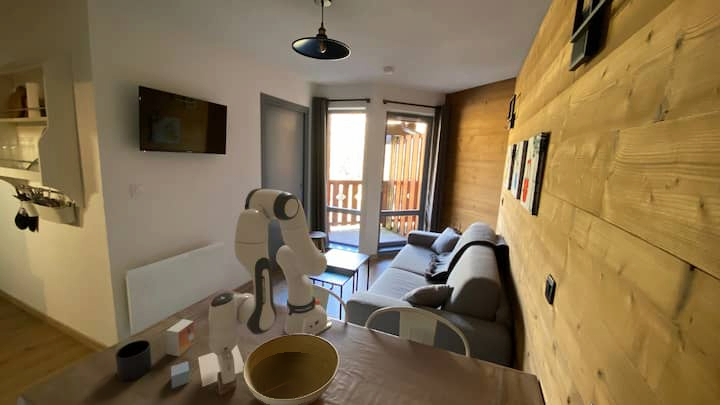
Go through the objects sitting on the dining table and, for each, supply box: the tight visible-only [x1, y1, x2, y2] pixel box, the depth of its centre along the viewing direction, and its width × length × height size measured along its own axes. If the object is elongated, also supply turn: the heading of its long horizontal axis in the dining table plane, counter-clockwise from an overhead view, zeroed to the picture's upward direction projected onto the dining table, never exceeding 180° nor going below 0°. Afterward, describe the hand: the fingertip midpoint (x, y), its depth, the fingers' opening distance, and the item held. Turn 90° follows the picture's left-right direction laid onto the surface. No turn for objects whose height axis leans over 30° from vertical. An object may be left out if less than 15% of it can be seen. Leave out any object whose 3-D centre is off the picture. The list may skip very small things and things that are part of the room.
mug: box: [115, 339, 153, 383], centre depth 96 cm, size 9×12×9 cm
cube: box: [170, 360, 191, 389], centre depth 93 cm, size 5×5×5 cm
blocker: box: [216, 372, 238, 396], centre depth 91 cm, size 5×5×5 cm
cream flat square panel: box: [198, 344, 245, 388], centre depth 102 cm, size 14×16×1 cm
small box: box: [165, 318, 196, 357], centre depth 108 cm, size 8×6×10 cm
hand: (224, 375), depth 95 cm, fingers closed
